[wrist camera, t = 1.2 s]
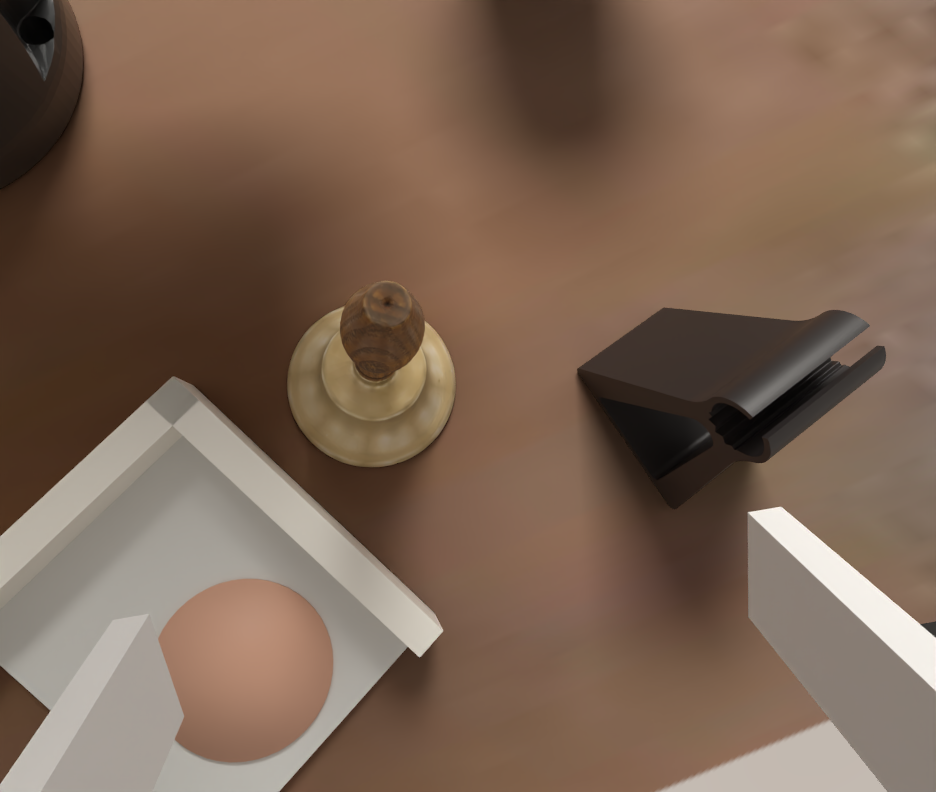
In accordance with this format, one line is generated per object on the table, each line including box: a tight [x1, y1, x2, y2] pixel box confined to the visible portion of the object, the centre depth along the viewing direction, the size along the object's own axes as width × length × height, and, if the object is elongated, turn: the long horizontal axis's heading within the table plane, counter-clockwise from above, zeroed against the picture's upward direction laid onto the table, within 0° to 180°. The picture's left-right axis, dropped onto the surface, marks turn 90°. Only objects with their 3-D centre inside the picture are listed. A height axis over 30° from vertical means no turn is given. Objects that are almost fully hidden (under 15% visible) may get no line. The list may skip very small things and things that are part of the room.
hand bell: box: [287, 281, 456, 467], centre depth 25 cm, size 8×8×16 cm
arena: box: [0, 376, 443, 792], centre depth 29 cm, size 16×14×4 cm
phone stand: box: [577, 308, 886, 509], centre depth 29 cm, size 9×6×12 cm, turn 35°
